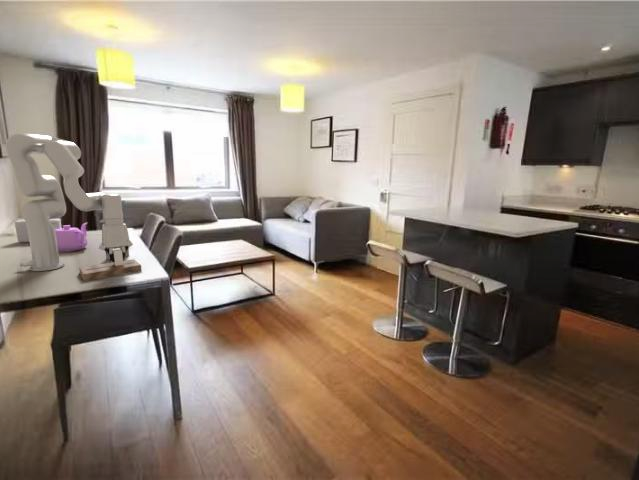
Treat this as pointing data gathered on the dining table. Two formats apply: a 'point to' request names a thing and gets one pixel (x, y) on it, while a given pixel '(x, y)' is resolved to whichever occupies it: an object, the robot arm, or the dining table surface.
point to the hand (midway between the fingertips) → (117, 260)
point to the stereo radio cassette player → (23, 232)
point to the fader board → (109, 270)
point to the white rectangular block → (117, 257)
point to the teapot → (71, 238)
